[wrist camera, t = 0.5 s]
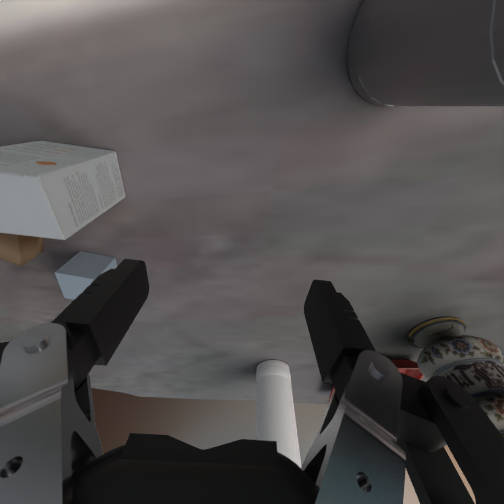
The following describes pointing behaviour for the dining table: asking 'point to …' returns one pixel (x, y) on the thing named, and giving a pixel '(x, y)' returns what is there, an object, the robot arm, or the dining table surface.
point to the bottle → (276, 408)
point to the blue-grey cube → (82, 272)
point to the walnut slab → (19, 248)
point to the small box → (55, 188)
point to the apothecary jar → (463, 362)
